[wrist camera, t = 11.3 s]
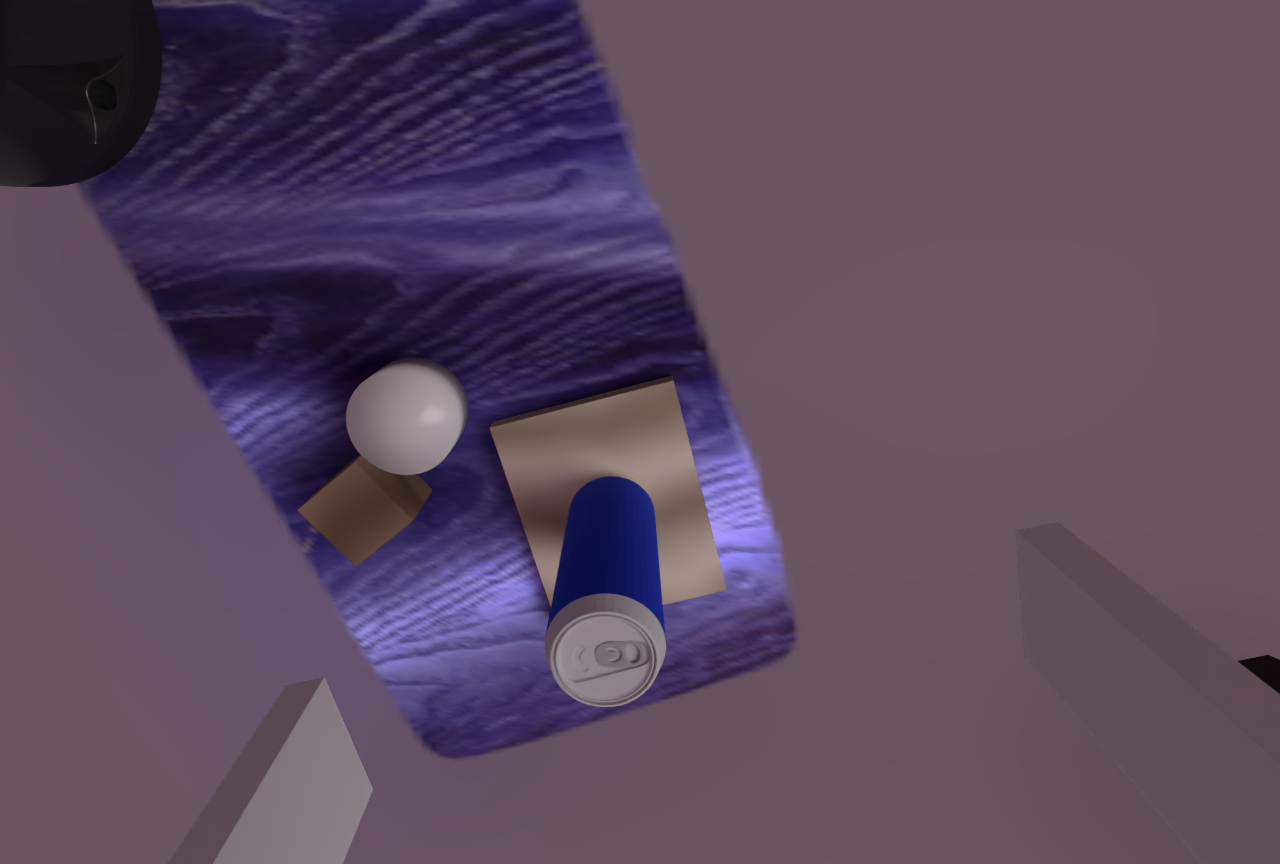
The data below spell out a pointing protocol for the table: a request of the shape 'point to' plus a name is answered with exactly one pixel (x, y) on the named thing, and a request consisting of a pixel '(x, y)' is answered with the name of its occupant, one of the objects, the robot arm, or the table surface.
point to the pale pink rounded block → (407, 415)
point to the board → (612, 446)
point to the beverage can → (607, 596)
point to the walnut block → (364, 507)
